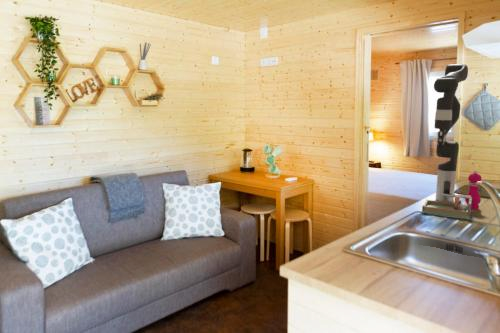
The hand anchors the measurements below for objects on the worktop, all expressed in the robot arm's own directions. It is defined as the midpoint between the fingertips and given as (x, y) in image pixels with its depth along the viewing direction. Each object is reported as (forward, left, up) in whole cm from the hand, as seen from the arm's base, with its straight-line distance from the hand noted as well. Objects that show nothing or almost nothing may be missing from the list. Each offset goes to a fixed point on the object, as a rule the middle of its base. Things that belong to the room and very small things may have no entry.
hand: (440, 151), depth 208 cm
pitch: (+3, +5, -30) cm, 31 cm away
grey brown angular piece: (+3, +9, -28) cm, 30 cm away
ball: (+3, +12, -27) cm, 30 cm away
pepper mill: (-13, +16, -30) cm, 37 cm away
